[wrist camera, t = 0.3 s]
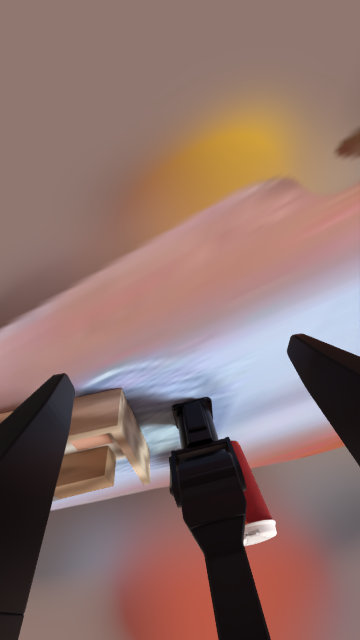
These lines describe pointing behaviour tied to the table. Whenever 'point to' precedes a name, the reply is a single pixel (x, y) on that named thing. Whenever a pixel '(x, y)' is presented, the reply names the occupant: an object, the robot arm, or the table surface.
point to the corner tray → (107, 429)
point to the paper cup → (254, 506)
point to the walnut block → (85, 472)
